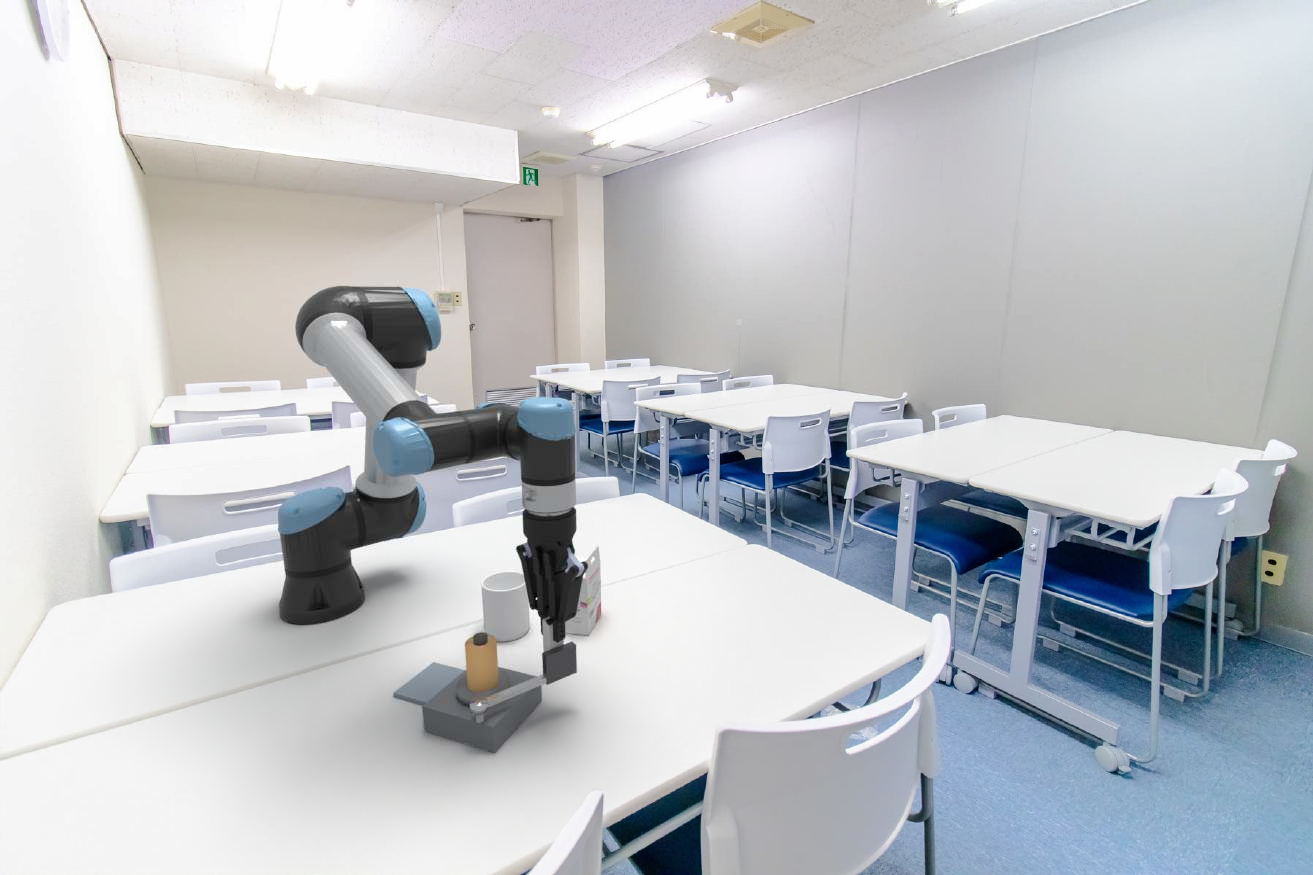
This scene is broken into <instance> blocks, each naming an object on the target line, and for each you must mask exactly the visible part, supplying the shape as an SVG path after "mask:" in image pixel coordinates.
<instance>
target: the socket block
mask: <svg viewBox="0 0 1313 875" xmlns="http://www.w3.org/2000/svg"><path fill="white" fill-rule="evenodd" d="M498 669H501V670H503V671H505V672H506V673H508V675H509V677H510V688H511V687H513V686H516V685H518V684H520V683H523V682H525V681H528V680H530V679H533V678H535V677H537V676H538V675H537V676H536V675H533V674H529V673H524V672H521V671H518V670H517V671H516V670H513V669H509V668H505V667H500V666H498ZM464 670H465V671H463V672H462V673H461V674H460V675H459V676H457V677H456V678H455V679H454V680H453V681H451V682H450V683H449V684H448V685H447V686H446V687H444V688H443V689H442V690H441V691H440V692H438V693H437V694H436V695H435V696H434V697H433V698H431V699H430V700H429V701H428V702H427V703H425V704H424V705H421V710H422V719H423V721H422V722H423V730H424V732H426V733H430V734H433V735H436V736H438V737H439V736H440V737H442V738H446V739H448V740H452V741H455V742H459V743H461V744H465V745H467V746H468V745H469V746H472V747H475V748H477V749H478V748H479V749H481V750H484V751H488V752H491V753H494V754H495V753H496V752H498V750H499V749H500V748H501V747H502V746H503V745H504V744H505V742H507V740H508V739H509V738H510V737H511V736H512V735H513V733H514V732H515V731H516V730H517V729H518V727H520V726H521V724H523V722H524V721H525V720H526V719H527V718H528V717H529V715H531V713H533V711H534V710H535V709H536V708H537V707H538V706H539V705H540V703H541V702H542V701H543V697H542V696H543V694H542V685H541V686H538V687H536V688H533V689H531V690H529V691H526V692H524V693H522V694H519V695H517V696H514V697H512V698H510V699H507V700H505V701H503V702H500V703H498V704H495V705H493V706H491V707H489V709H488V711H487V712H486V713H484V714H481V715H473V714H471V712H470V705H467V704H464V703H462V702H461V701H460V700H459V699H458V698H457V694H456V685H457V683H458V681H459V680H460V679H461V678H462V677H463V676H464V675H466V674H467V670H466V669H464Z"/></svg>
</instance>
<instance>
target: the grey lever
mask: <svg viewBox="0 0 1313 875" xmlns="http://www.w3.org/2000/svg"><path fill="white" fill-rule="evenodd" d="M541 656H542V658H541V659H542V674H540V675H537V677H535V678H533V679H530V680H528V681H525V682H523V683H520V684H518V685H516V686H513V687H511V688H508V689H506V690H503V691H501V692H498V693H496V694H494V695H491V696H489V697H476V698H474V699H472V700H471V702H470V712H471V714H473V715H481V714H484V713H486V712H487V711H488V709H489V707H491V706H493V705H495V704H498V703H500V702H503V701H505V700H507V699H510V698H512V697H514V696H517V695H519V694H522V693H524V692H526V691H529V690H531V689H533V688H536V687H538V686H541V687H542V686H543V685H547V686H548V685H551V684H553V683H555V682H558V681H560V680H562V679H565V678H567V677H569V676H572V675H575V674H576V673H577V672H578V670H577V669H578V667H577V666H578V665H577V663H578V662H577V644H575V643H574V642H573V641H569V642H566V643H564V645H561V646H559V647H556V648H554V649H551V650H548V651H546V652H542V653H541Z"/></svg>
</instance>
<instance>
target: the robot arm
mask: <svg viewBox="0 0 1313 875" xmlns="http://www.w3.org/2000/svg"><path fill="white" fill-rule="evenodd" d="M294 327H295V336H296V339H297V342H298V344H299V346H300V348H301V350H302V351H303V352H304V353H305V355H306V357H308V358H309V360H311V361H312V362H313V363H315V365H318V366H320V367H324V368H325V369H326V370H327V371H328V372H329V374H330V375H331V376H332V378H334V380H335V381H336V382H337V384H339V386H340V388H342V390H343V391H344V392H345V393H346V394H347V396H348V397H349V398H350V400H351V401H352V402H353V403H354V404H355V406H356V407H357V408H358V409H359V410H360V412H361V413H362V415H364V417H365V438H364V440H365V442H364V462H363V463H364V466H363V467H364V468H363V472H361V473H360V474H359V475H358V476H357V477H356V479H355V485H354V486H355V488H354V489H355V490H353V491H348V492H345V491H344V490H343V489H342V488H340V487H337V486H336V487H335V486H326V487H323V488H322V487H318V488H313V489H310V490H307V491H304V492H301V493H297V494H294V495H293V496H291V497H289V498H288V499H286V500H285V501H283V503H282V504H281V505H280V506H279V507H278V510H277V524H278V526H277V530H278V533H279V538H280V546H281V552H282V559H283V567H284V573H285V579H284V582H283V587H282V592H281V598H280V600H279V603H278V610H279V615H280V618H281V620H283V621H284V620H285V622H286V621H287V623H289V624H293V623H297V624H296V625H311V624H312V625H313V624H318V623H319V624H320V623H323V622H324V623H325V622H330V621H333V620H336V619H339V618H342V617H344V616H346V615H349V614H351V613H352V612H354V611H355V610H358V608H360V607H361V606H362V605H363V604H364V603H365V601H366V591H365V586H364V584H363V583H362V581H361V579H360V576H359V575H358V573H357V571H356V569H355V567H354V565H353V562H352V552H351V551H352V550H356V549H360V548H364V547H367V546H371V545H375V544H378V543H381V542H387V541H389V540H393V539H394V540H395V539H400V538H402V537H405V536H406V535H410V534H413V533H415V532H416V531H417V532H418V530H419V529H420V528H421V526H422V525H423V524H424V522H425V519H426V515H427V501H426V500H425V499H426V493H425V490H424V488H423V487H422V485H421V483H419V482H418V481H417V478H416V477H415V476H416V475H417V476H418V475H424V474H425V473H429V472H433V471H439V470H443V469H447V468H452V467H458V466H462V465H469V464H473V463H477V462H482V461H487V460H493V459H498V458H508V459H512V460H516V461H519V462H520V463H519V464H520V479H521V504H522V507H523V509H524V510H522V513H521V514H522V533H523V535H524V537H526V542H524V543H521V544H519V545H517V546H516V547H515V551H516V553H517V555H518V558H519V560H520V563H521V568H522V573H523V574H524V579H525V584H526V590H527V595H528V600H529V609H531V610H532V611H537V615H538V616H539V618H540V633H541V635H542V644H543V645H542V648H543V649H542V650H543V652H546V651H548V650H551V649H554V648H556V647H559V646H561V645H564V644H565V643H564V642H565V641H564V640H565V638H566V636H567V635H566V634H567V633H565V622H566V621H568V620H570V619H572V618H574V617H575V616H576V612H577V607H578V601H579V596H580V590H581V585H582V579H583V575H584V574H585V572H586V570H587V569H588V564H587V562H585V561H583V562H581V563H580V561H579V560H578V559H577V558H578V557H577V556H576V555H575V554H576V549H575V547H574V543H573V542H574V541H573V539H574V536H575V534H576V532H577V529H578V527H577V509H576V508H575V506H576V505H577V488H576V487H577V486H576V484H577V483H576V432H577V431H576V430H577V429H576V428H577V427H576V425H575V416H574V415H575V414H574V406H573V404H572V402H571V401H570V400H569V399H566V398H562V397H552V396H541V397H540V396H539V397H530V398H529V397H528V398H526V399H523V400H521V401H520V403H519V404H518V406H515V405H511V404H509V403H505V402H500V401H499V402H491V401H489V402H488V401H487V402H483V403H480V404H479V405H477V406H476V407H474V408H473V409H472V408H471V409H465V410H458V411H457V410H455V411H450V412H449V411H448V412H441V413H437V412H436V411H435V410H434V409H433V408H432V407H430V405H429V404H428V403H426V401H424V399H423V398H422V397H421V396H420V395H419V394H418V393H417V392H416V389H417V388H416V387H417V375H418V372H417V371H419V370H420V369H421V368H422V367H424V366H425V365H426V364H427V363H426V362H427V353H428V352H432V351H433V350H437V348H438V347H439V345H440V343H441V339H442V324H441V320H440V315H439V312H438V309H437V307H436V306H435V303H434V301H433V300H432V298H431V297H430V296H429V295H428V293H426V292H425V291H424V290H422V289H419V288H411V287H403V286H400V285H399V286H353V285H352V286H351V285H335V286H330V287H327V288H323V289H321V290H319V291H318V292H316V293H315V294H312V296H311V297H309V298H308V299H307V300H306V301H305V302H304V303H303V304H302V306H301V307H300V308H299V311H298V313H297V316H296V321H295V326H294ZM543 652H542V653H543Z"/></svg>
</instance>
